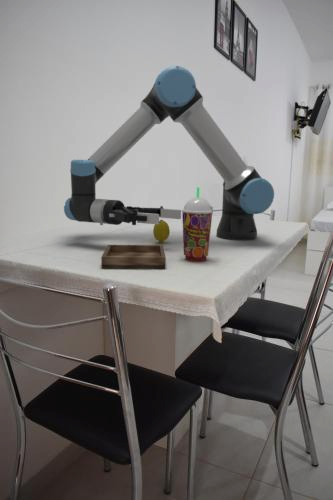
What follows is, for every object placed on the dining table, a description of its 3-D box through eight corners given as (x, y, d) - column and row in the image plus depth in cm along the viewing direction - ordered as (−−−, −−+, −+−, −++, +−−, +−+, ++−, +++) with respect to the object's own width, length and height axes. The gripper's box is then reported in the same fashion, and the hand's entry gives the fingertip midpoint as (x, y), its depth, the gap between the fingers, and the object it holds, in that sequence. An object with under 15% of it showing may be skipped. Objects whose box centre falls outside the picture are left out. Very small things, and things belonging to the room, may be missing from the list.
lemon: (169, 241, 135) (170, 218, 133) (168, 244, 129) (168, 220, 128) (154, 241, 135) (154, 218, 134) (152, 244, 130) (152, 220, 128)
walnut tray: (163, 255, 114) (163, 245, 113) (165, 269, 98) (165, 257, 98) (108, 254, 113) (108, 244, 112) (101, 268, 97) (101, 257, 97)
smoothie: (184, 263, 105) (186, 187, 101) (178, 256, 113) (180, 186, 109) (214, 262, 106) (217, 188, 102) (206, 255, 114) (209, 186, 110)
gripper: (130, 219, 132) (187, 224, 122) (82, 229, 110) (147, 236, 100) (130, 197, 130) (188, 200, 121) (82, 202, 108) (147, 207, 99)
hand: (170, 216), depth 110 cm, fingers open, 13 cm apart
